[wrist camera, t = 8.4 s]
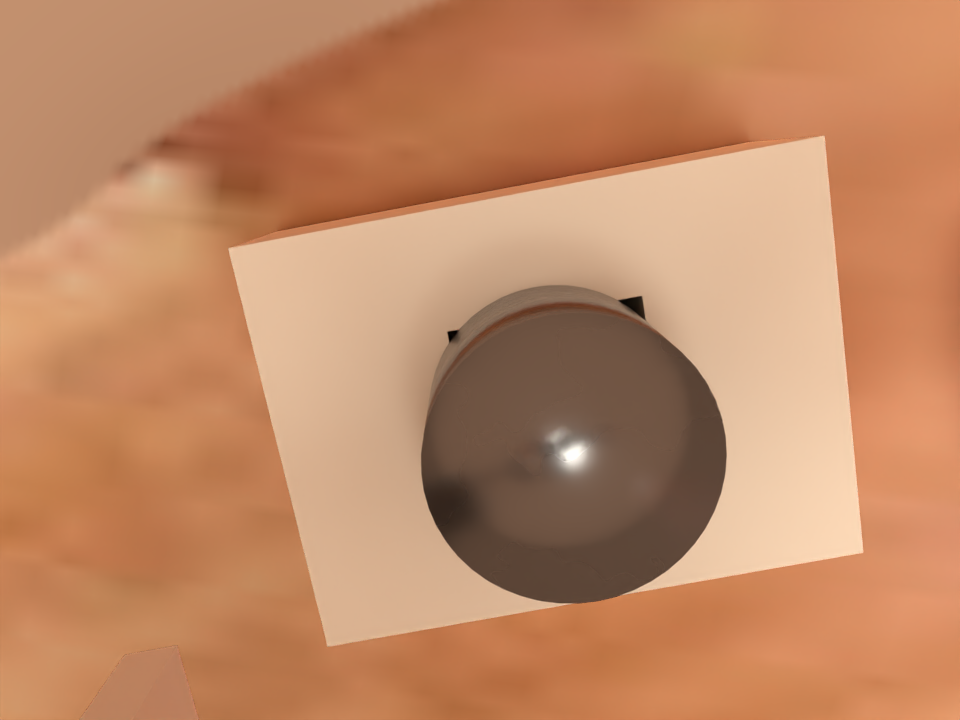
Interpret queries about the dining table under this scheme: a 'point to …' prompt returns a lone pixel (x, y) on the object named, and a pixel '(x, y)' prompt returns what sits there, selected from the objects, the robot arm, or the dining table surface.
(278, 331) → the block
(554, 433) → the pin
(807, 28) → the dining table surface
